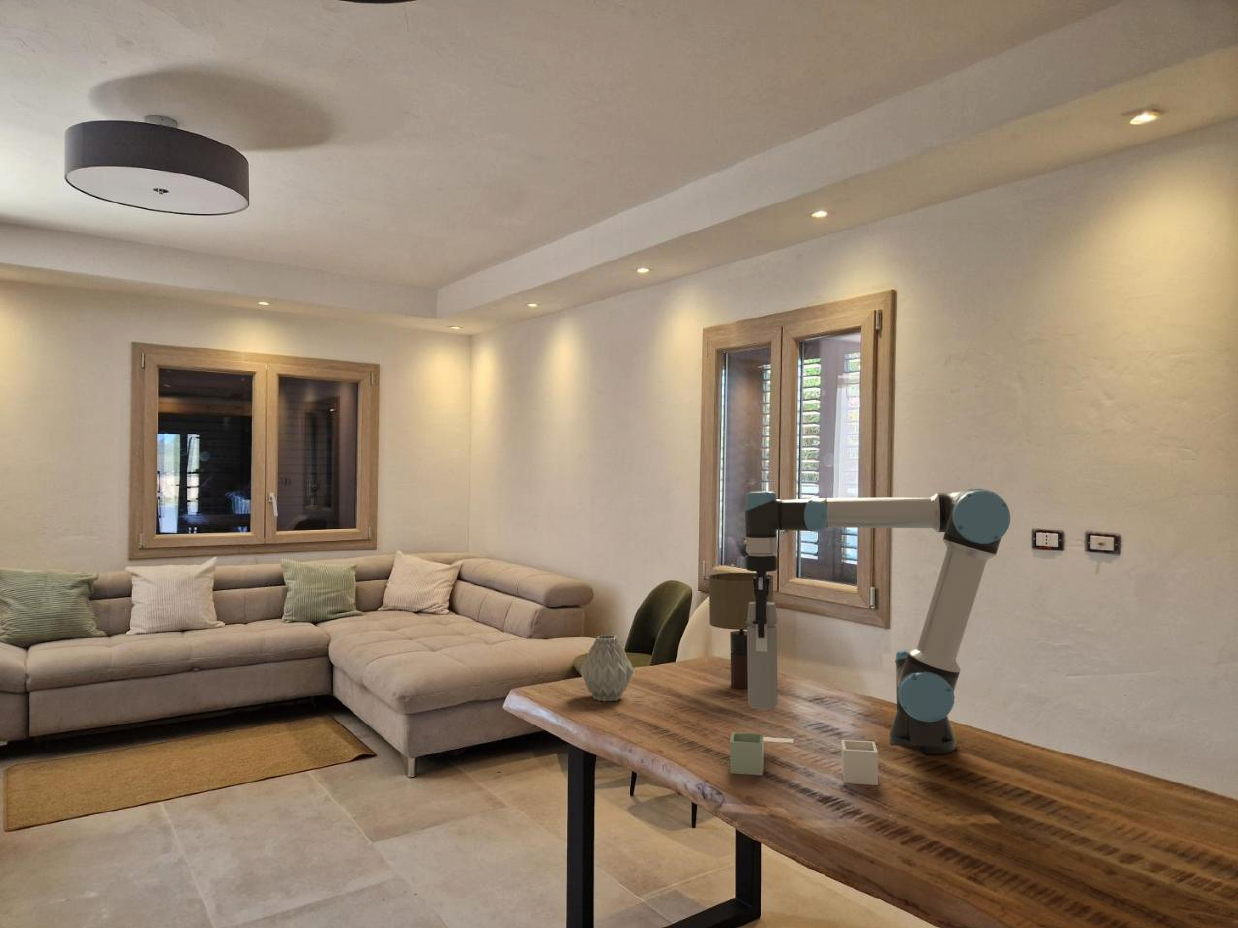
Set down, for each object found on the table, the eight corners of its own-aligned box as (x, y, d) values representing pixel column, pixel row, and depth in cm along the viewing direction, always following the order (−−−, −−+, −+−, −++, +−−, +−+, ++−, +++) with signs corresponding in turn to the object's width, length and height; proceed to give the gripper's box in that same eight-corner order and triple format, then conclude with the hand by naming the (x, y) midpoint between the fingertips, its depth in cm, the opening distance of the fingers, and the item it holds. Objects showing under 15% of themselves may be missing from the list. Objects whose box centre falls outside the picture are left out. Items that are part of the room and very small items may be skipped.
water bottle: (779, 711, 191) (777, 605, 192) (745, 709, 192) (744, 604, 194) (779, 701, 200) (778, 600, 201) (747, 700, 202) (746, 600, 203)
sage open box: (763, 769, 182) (763, 733, 182) (762, 780, 175) (762, 743, 175) (732, 767, 183) (732, 732, 183) (730, 778, 176) (729, 741, 177)
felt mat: (793, 740, 201) (793, 738, 201) (793, 759, 188) (793, 757, 188) (737, 737, 204) (737, 735, 204) (733, 756, 191) (733, 753, 191)
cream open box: (875, 778, 176) (874, 741, 176) (878, 790, 169) (877, 752, 169) (841, 776, 177) (841, 739, 177) (843, 788, 170) (843, 750, 170)
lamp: (739, 675, 269) (738, 571, 269) (787, 687, 253) (786, 576, 254) (697, 685, 256) (695, 576, 257) (744, 698, 240) (743, 581, 241)
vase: (574, 693, 248) (574, 633, 248) (624, 689, 253) (624, 630, 253) (588, 707, 232) (587, 643, 233) (641, 702, 237) (641, 639, 237)
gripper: (748, 550, 208) (749, 638, 208) (743, 558, 187) (744, 655, 187) (777, 550, 206) (778, 639, 206) (775, 558, 186) (777, 657, 185)
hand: (762, 647), depth 196 cm, fingers closed on water bottle, 8 cm apart
